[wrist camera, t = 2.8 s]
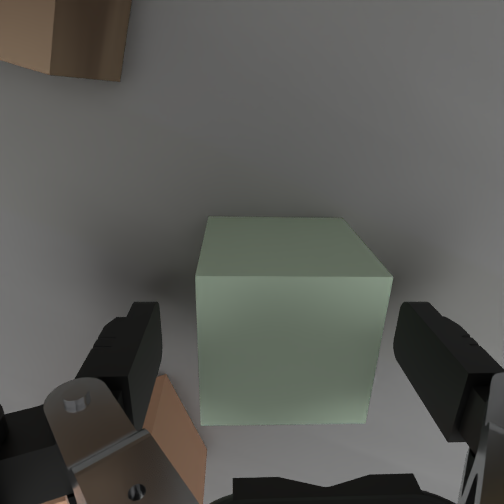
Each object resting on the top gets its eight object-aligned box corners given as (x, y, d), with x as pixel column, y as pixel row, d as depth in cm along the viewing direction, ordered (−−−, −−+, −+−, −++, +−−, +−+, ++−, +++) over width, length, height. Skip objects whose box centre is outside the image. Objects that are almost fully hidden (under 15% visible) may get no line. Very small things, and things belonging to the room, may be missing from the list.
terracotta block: (64, 403, 17) (1, 518, 12) (166, 372, 17) (139, 479, 12) (114, 474, 19) (75, 596, 14) (207, 448, 19) (198, 565, 14)
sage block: (208, 215, 14) (195, 275, 9) (341, 217, 14) (393, 276, 10) (210, 329, 16) (200, 425, 11) (328, 328, 16) (365, 423, 11)
